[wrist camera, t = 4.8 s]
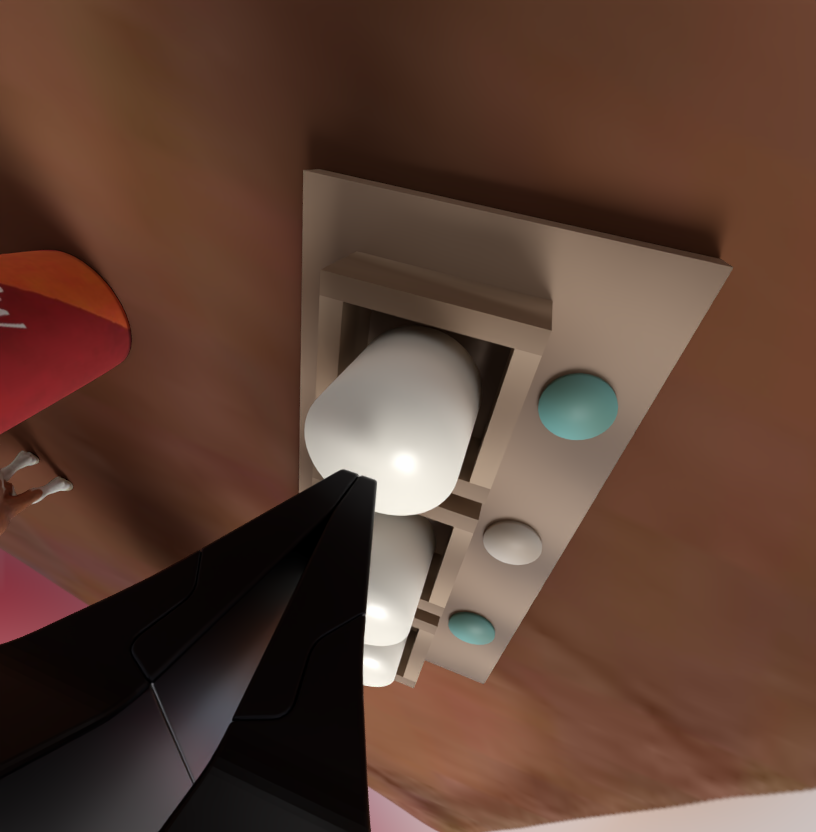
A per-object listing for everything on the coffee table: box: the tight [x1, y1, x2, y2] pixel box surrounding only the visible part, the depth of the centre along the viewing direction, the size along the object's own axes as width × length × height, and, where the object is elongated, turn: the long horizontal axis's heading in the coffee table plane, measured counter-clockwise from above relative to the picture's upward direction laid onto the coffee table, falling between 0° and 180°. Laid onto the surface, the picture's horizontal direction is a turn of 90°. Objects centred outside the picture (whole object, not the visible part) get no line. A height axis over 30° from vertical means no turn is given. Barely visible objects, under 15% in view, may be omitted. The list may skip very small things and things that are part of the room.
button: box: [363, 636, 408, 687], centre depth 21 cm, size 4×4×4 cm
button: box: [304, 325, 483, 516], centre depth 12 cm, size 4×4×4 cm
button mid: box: [364, 512, 436, 646], centre depth 16 cm, size 4×4×4 cm
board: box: [299, 169, 733, 688], centre depth 18 cm, size 24×12×4 cm, turn 171°
